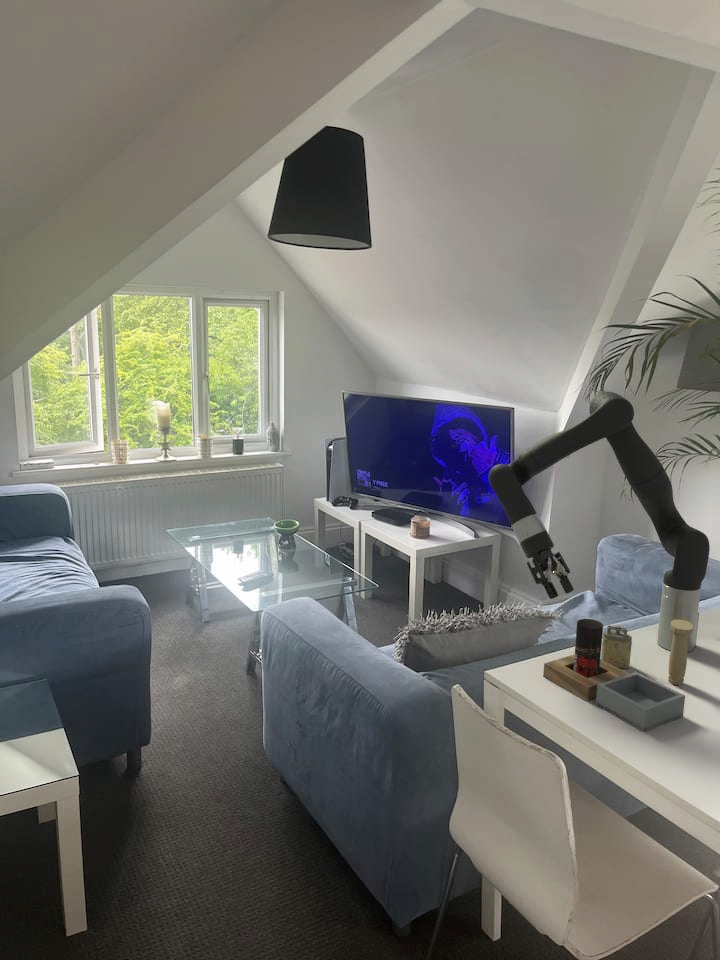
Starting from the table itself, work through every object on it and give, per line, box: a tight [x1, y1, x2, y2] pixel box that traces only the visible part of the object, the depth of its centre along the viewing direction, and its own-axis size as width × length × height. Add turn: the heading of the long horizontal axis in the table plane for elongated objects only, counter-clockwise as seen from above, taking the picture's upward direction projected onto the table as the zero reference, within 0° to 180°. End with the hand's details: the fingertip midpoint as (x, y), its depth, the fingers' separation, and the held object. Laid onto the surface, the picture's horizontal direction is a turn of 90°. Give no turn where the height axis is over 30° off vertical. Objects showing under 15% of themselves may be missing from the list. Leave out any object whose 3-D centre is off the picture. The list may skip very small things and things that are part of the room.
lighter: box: [600, 625, 633, 669], centre depth 182 cm, size 7×4×10 cm, turn 67°
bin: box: [595, 671, 686, 733], centre depth 160 cm, size 13×13×5 cm
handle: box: [668, 619, 693, 686], centre depth 172 cm, size 5×6×15 cm
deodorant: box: [573, 618, 604, 678], centre depth 172 cm, size 6×6×15 cm
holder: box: [542, 653, 630, 702], centre depth 173 cm, size 14×14×4 cm
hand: (562, 594), depth 177 cm, fingers open, 8 cm apart
